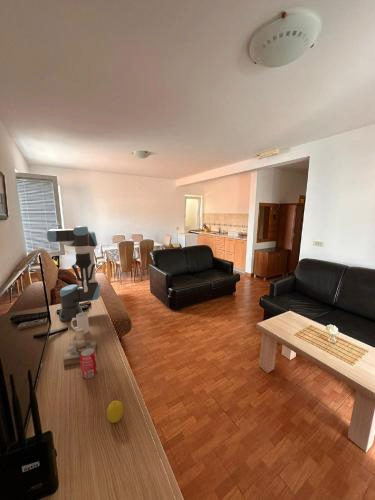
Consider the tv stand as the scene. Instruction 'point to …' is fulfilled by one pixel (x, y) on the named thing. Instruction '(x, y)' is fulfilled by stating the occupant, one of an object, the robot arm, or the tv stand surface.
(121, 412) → the lemon
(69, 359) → the beige flat square block
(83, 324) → the mug
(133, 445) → the tv stand surface
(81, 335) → the leg peg
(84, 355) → the soda can
